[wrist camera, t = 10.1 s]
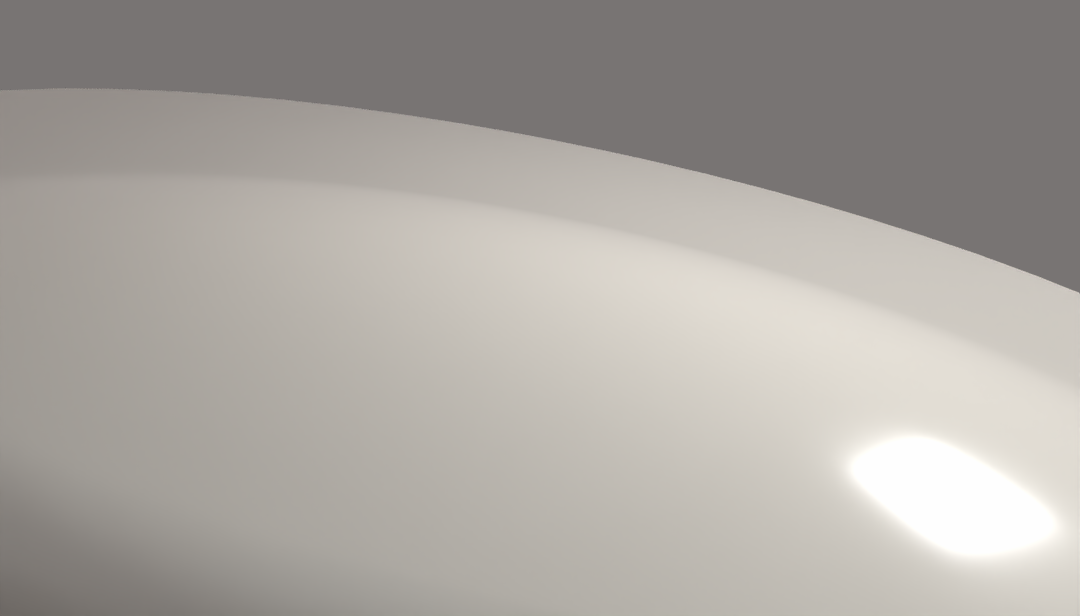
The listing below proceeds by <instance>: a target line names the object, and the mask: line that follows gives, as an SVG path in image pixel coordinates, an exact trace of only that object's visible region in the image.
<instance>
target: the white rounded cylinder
mask: <svg viewBox="0 0 1080 616" xmlns="http://www.w3.org/2000/svg"><path fill="white" fill-rule="evenodd" d="M0 616H1080V293H1078V292H1075V291H1073V290H1070V289H1068V288H1065V287H1063V286H1060V285H1058V284H1055V283H1053V282H1050V281H1048V280H1045V279H1043V278H1040V277H1038V276H1035V275H1032V274H1030V273H1027V272H1024V271H1022V270H1019V269H1016V268H1013V267H1010V266H1008V265H1005V264H1002V263H999V262H997V261H994V260H992V259H988V258H986V257H983V256H981V255H978V254H975V253H972V252H969V251H966V250H963V249H960V248H957V247H954V246H951V245H948V244H945V243H943V242H940V241H937V240H934V239H931V238H928V237H925V236H922V235H918V234H915V233H912V232H909V231H906V230H903V229H900V228H897V227H893V226H890V225H887V224H884V223H881V222H878V221H875V220H871V219H868V218H864V217H861V216H858V215H854V214H851V213H847V212H844V211H841V210H838V209H834V208H831V207H827V206H824V205H821V204H817V203H814V202H810V201H806V200H803V199H799V198H796V197H792V196H788V195H784V194H781V193H777V192H774V191H770V190H766V189H763V188H759V187H755V186H751V185H747V184H743V183H739V182H736V181H731V180H728V179H724V178H720V177H716V176H712V175H708V174H704V173H700V172H696V171H691V170H687V169H683V168H678V167H675V166H670V165H666V164H662V163H658V162H653V161H649V160H644V159H640V158H635V157H630V156H626V155H622V154H617V153H613V152H608V151H604V150H599V149H593V148H588V147H584V146H579V145H574V144H569V143H564V142H559V141H554V140H549V139H544V138H538V137H533V136H528V135H523V134H517V133H512V132H507V131H501V130H496V129H490V128H484V127H477V126H472V125H466V124H460V123H454V122H448V121H442V120H434V119H428V118H421V117H415V116H408V115H402V114H395V113H388V112H381V111H373V110H365V109H357V108H350V107H342V106H334V105H325V104H316V103H306V102H298V101H289V100H280V99H268V98H257V97H246V96H235V95H223V94H207V93H192V92H176V91H154V90H127V89H35V90H34V89H33V90H4V91H0Z"/></svg>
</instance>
